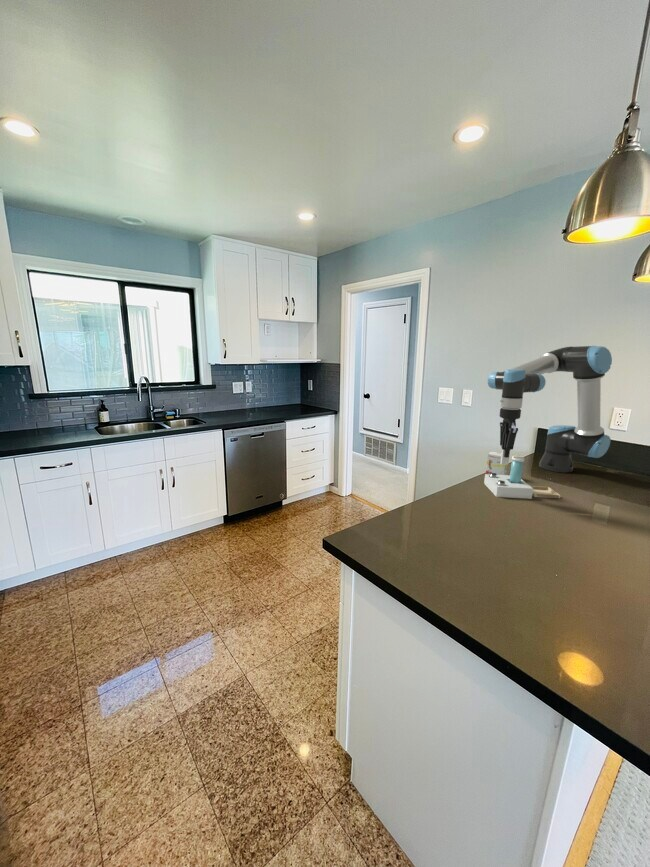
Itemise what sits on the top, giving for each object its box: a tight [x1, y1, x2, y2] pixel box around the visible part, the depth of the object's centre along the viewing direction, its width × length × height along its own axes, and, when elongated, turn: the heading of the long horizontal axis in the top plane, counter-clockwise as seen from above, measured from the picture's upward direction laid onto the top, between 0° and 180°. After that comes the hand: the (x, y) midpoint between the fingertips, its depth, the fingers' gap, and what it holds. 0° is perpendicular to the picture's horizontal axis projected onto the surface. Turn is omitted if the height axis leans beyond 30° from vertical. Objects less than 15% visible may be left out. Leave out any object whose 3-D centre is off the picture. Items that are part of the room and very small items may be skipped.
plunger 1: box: [490, 473, 497, 478], centre depth 158 cm, size 3×3×5 cm
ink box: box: [485, 451, 508, 475], centre depth 171 cm, size 9×5×12 cm, turn 50°
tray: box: [530, 485, 561, 499], centre depth 151 cm, size 10×10×2 cm
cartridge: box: [509, 455, 526, 484], centre depth 151 cm, size 5×5×16 cm
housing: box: [483, 473, 533, 500], centre depth 153 cm, size 16×14×5 cm
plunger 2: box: [498, 480, 505, 486], centre depth 148 cm, size 3×3×5 cm
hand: (504, 464), depth 146 cm, fingers closed
